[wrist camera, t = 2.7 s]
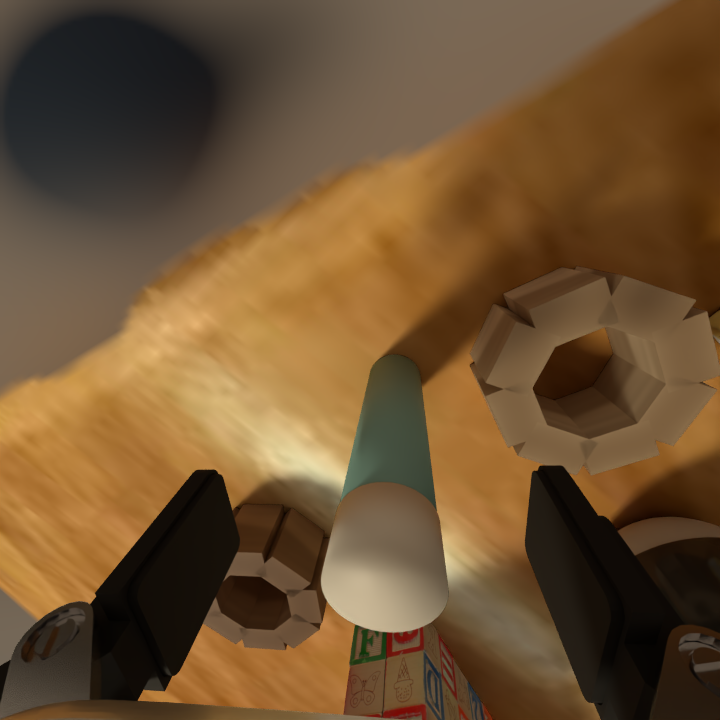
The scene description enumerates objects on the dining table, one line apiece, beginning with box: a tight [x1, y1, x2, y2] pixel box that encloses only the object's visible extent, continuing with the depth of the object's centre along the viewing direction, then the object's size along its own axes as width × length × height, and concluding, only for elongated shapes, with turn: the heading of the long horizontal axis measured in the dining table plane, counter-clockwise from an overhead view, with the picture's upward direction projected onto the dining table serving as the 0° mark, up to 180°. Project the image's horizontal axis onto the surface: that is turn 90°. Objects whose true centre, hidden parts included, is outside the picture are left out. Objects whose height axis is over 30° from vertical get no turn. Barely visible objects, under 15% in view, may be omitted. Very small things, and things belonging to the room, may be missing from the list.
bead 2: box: [470, 266, 720, 475], centre depth 17 cm, size 9×9×4 cm
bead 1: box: [203, 504, 329, 650], centre depth 25 cm, size 9×9×4 cm
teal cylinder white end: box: [321, 355, 449, 632], centre depth 15 cm, size 3×3×13 cm
